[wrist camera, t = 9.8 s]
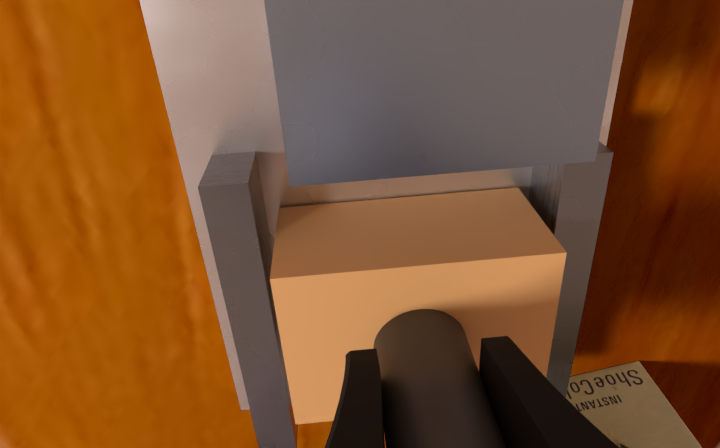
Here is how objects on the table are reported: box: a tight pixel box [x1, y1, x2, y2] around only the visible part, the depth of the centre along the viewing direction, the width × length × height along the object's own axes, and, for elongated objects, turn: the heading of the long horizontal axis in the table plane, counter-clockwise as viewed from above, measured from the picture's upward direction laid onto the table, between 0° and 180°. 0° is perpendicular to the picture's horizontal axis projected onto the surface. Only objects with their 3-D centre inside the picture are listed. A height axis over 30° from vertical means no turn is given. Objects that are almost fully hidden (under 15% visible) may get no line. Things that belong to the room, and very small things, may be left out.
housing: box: [264, 0, 624, 187], centre depth 10 cm, size 6×5×6 cm
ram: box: [270, 188, 567, 448], centre depth 13 cm, size 5×7×8 cm
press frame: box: [140, 0, 633, 448], centre depth 14 cm, size 20×12×5 cm, turn 3°
